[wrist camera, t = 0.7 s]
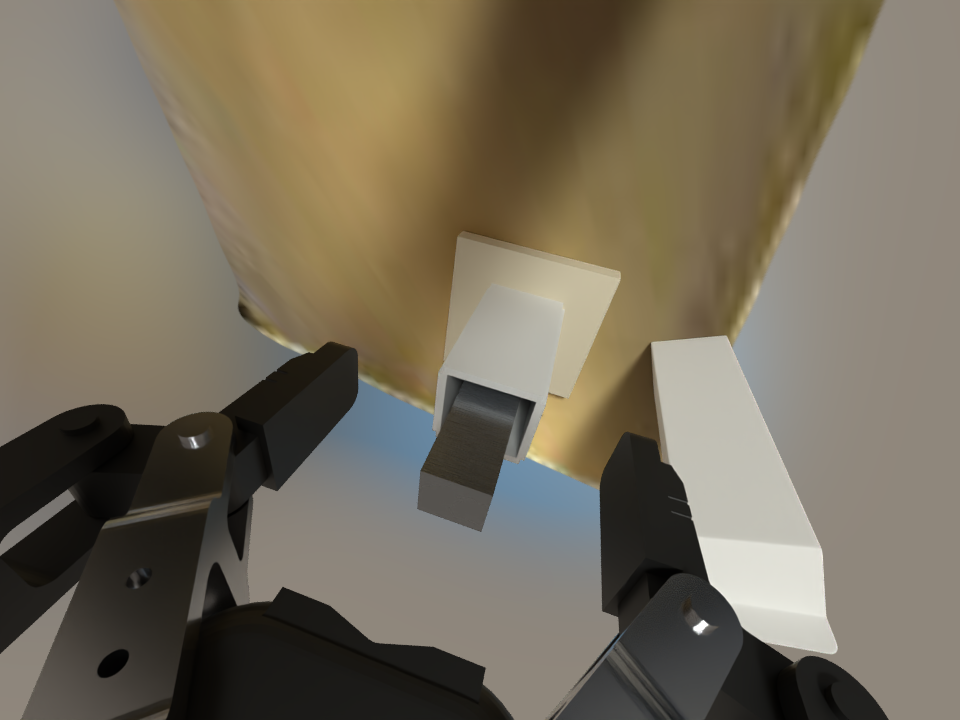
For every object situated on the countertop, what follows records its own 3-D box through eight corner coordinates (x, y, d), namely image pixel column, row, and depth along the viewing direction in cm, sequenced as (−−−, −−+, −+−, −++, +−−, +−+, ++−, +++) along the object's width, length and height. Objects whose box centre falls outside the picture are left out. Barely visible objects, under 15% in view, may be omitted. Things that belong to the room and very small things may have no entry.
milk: (723, 387, 35) (829, 680, 18) (652, 390, 37) (688, 652, 20) (726, 333, 31) (860, 628, 15) (649, 340, 34) (688, 602, 17)
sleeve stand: (462, 230, 33) (383, 312, 21) (620, 271, 31) (625, 383, 20) (448, 352, 41) (386, 455, 30) (569, 389, 40) (553, 513, 28)
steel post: (501, 301, 34) (418, 469, 19) (545, 313, 33) (495, 495, 19) (492, 341, 37) (415, 512, 22) (533, 353, 36) (481, 536, 22)
